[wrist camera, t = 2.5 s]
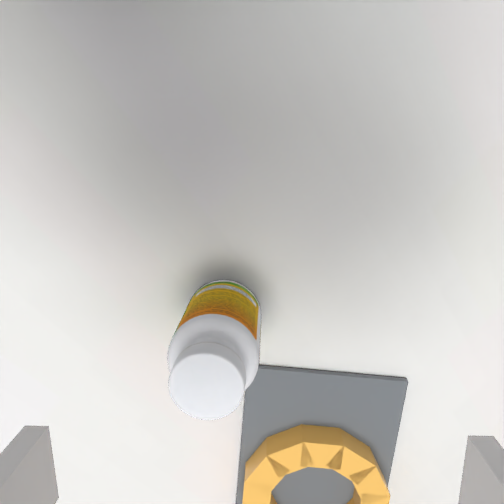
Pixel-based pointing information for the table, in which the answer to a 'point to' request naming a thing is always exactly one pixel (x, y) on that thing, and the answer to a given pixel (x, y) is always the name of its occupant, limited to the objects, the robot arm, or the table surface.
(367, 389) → the slate mat
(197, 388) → the supplement bottle
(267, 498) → the golden tan faceted ring
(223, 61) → the table surface
